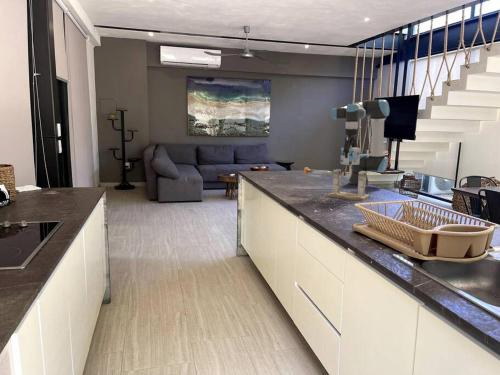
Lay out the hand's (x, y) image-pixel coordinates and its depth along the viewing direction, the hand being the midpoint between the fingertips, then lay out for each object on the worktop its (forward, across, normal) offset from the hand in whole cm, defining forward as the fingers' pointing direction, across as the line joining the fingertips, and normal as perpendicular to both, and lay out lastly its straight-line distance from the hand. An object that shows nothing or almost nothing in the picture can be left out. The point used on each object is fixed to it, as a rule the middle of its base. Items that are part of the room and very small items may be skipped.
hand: (350, 162), depth 246 cm
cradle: (+23, 0, 0) cm, 23 cm away
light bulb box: (+2, 0, 0) cm, 2 cm away
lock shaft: (+11, 0, -20) cm, 23 cm away
